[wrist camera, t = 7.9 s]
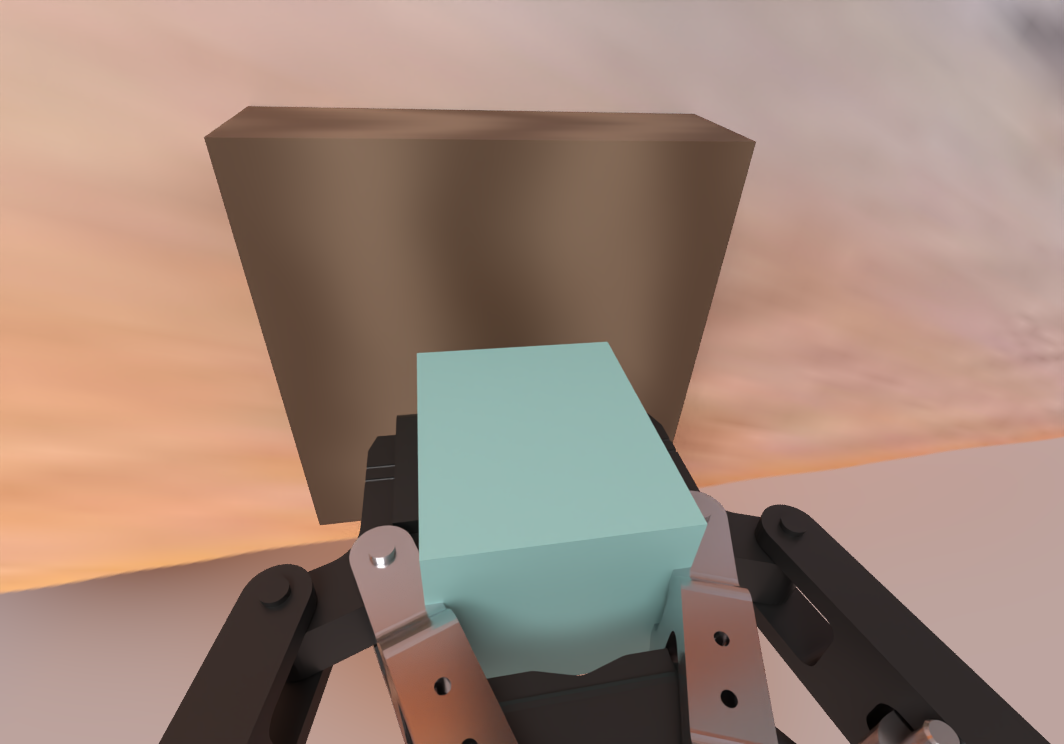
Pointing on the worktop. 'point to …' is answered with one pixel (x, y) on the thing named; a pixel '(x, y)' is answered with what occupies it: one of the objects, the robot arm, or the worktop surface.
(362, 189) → the stacking base
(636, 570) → the teal block
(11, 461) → the worktop surface
